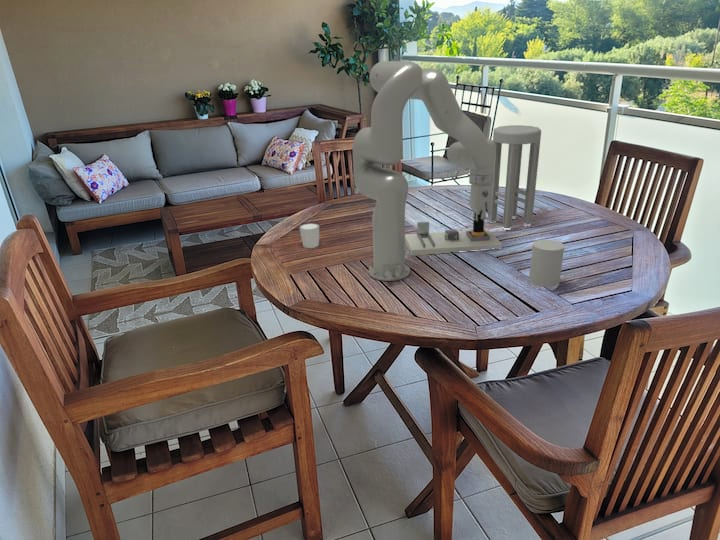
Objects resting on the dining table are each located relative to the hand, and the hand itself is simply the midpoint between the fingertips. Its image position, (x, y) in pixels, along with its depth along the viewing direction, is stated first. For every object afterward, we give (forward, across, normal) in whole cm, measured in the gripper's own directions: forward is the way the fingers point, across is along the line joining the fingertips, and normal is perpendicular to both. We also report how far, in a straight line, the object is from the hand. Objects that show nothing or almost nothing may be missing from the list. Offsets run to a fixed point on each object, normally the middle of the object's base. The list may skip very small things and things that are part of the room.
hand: (478, 231), depth 176 cm
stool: (+4, +16, -17) cm, 24 cm away
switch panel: (+4, 0, +9) cm, 10 cm away
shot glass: (+4, +8, +57) cm, 58 cm away
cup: (+4, -35, -9) cm, 36 cm away
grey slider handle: (+2, +4, +18) cm, 19 cm away
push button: (+2, 0, 0) cm, 2 cm away
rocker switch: (+1, 0, +9) cm, 9 cm away
